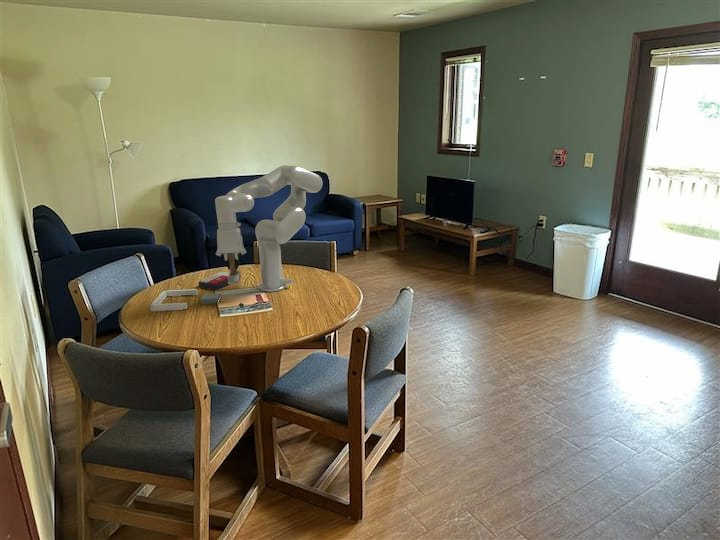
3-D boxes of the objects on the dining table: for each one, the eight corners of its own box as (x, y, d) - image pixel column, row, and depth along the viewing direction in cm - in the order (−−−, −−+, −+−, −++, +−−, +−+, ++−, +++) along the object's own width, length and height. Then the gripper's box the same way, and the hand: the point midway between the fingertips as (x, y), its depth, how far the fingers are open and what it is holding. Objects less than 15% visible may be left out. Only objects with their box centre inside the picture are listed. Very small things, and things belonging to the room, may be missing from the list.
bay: (197, 294, 222) (196, 288, 222) (186, 309, 204) (186, 303, 203) (164, 295, 221) (163, 290, 221) (150, 311, 203) (149, 305, 202)
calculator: (197, 280, 231) (220, 270, 243) (198, 289, 232) (221, 278, 245) (215, 283, 226) (237, 273, 238) (216, 292, 227) (238, 281, 240)
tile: (221, 298, 218) (220, 293, 217) (218, 304, 211) (217, 298, 210) (204, 299, 217) (204, 293, 216) (201, 304, 210) (200, 299, 210)
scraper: (240, 277, 217) (237, 249, 213) (238, 283, 209) (234, 254, 205) (231, 277, 216) (227, 250, 212) (228, 283, 209) (224, 255, 205)
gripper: (248, 223, 209) (253, 264, 215) (209, 225, 208) (215, 266, 214) (246, 227, 202) (251, 269, 208) (206, 229, 201) (212, 272, 207)
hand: (233, 267), depth 211 cm, fingers closed on scraper, 2 cm apart
